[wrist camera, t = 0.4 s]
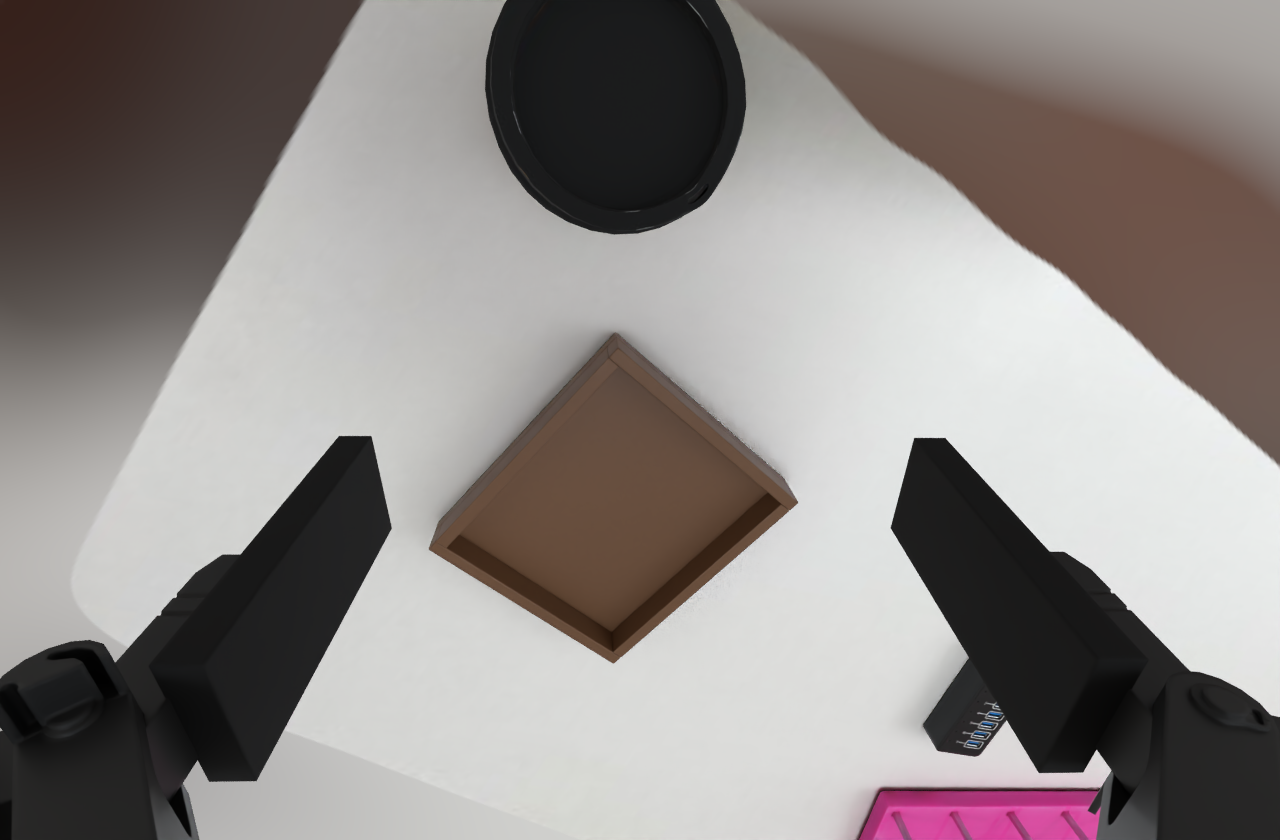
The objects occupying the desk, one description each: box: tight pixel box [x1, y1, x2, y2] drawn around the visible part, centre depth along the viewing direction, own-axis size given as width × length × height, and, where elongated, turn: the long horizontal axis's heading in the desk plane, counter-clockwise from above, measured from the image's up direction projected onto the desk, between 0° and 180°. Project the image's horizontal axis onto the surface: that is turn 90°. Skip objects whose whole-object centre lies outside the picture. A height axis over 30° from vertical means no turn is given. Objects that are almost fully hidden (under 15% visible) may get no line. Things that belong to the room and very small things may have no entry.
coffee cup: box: [485, 0, 746, 234], centre depth 25 cm, size 8×8×15 cm
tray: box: [429, 333, 798, 663], centre depth 40 cm, size 18×16×3 cm
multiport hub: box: [923, 658, 1007, 757], centre depth 51 cm, size 4×11×2 cm, turn 162°
